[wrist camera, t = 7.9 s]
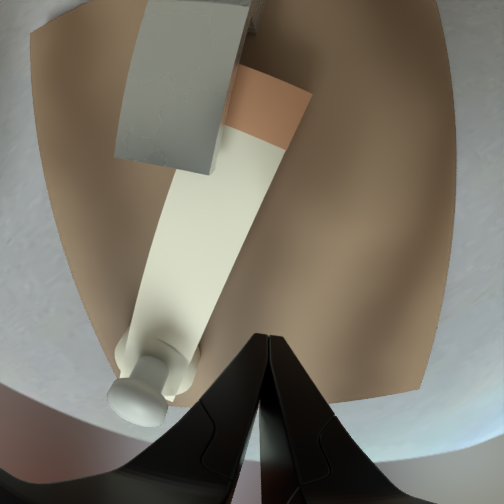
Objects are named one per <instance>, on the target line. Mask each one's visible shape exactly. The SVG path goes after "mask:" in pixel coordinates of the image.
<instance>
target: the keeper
mask: <svg viewBox="0 0 504 504" xmlns="http://www.w3.org/2000/svg"><path fill="white" fill-rule="evenodd" d="M265 2H266V0H148V3H147V6H146V9H145V12H144V16H143V19H142V22H141V26H140V29H139V33H138V36H137V40H136V44H135V48H134V51H133V55H132V60H131V64H130V68H129V72H128V77H127V82H126V86H125V91H124V96H123V102H122V107H121V113H120V118H119V125H118V131H117V138H116V145H115V152H114V158H119V159H125V160H131V161H136V162H142V163H148V164H153V165H159V166H164V167H169V168H174V169H179V170H184V171H189V172H194V173H199V174H204V175H208V176H209V175H210V174H212V173H213V172H214V171H215V166H216V161H217V157H218V152H219V147H220V142H221V138H222V133H223V129H224V124H225V120H226V115H227V111H228V107H229V102H230V98H231V94H232V90H233V86H234V82H235V78H236V74H237V70H238V66H239V62H240V58H241V54H242V50H243V46H244V42H245V39H246V35H247V34H250V35H257V31H258V27H259V24H260V20H261V17H262V13H263V9H264V6H265Z"/></svg>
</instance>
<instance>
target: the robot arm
mask: <svg viewBox="0 0 504 504" xmlns="http://www.w3.org/2000/svg"><path fill="white" fill-rule="evenodd" d="M258 405H259V430H260V465H261V503H262V504H436V503H433V502H429V501H425V500H422V499H419V498H415V497H413V496H410V495H408V494H406V493H404V492H403V491H401V490H400V489H398V488H397V487H396V486H395V485H394V484H393V483H392V482H391V481H390V480H389V479H388V478H387V477H386V476H385V475H384V474H383V473H382V472H381V471H380V469H379V468H378V467H377V466H376V465H375V464H374V463H373V462H372V461H371V460H370V459H369V457H368V456H367V455H366V454H365V453H364V452H363V451H362V450H361V448H360V447H359V446H358V445H357V444H356V442H355V441H354V440H353V439H352V438H351V436H350V435H349V433H348V432H347V431H346V429H345V428H344V427H343V425H342V424H341V422H340V421H339V419H338V418H337V416H335V414H334V412H333V411H332V409H331V408H330V406H329V405H328V403H327V402H326V400H325V399H324V397H323V396H322V394H321V393H320V391H319V390H318V388H317V387H316V385H315V384H314V382H313V381H312V379H311V378H310V376H309V375H308V373H307V372H306V370H305V369H304V367H303V366H302V364H301V363H300V361H299V360H298V358H297V357H296V355H295V353H294V352H293V350H292V349H291V347H290V346H289V344H288V343H287V341H286V340H285V338H284V337H283V336H277V335H269V337H268V335H267V334H262V333H254V334H253V335H252V336H251V337H250V339H249V340H248V341H247V342H246V344H245V345H244V346H243V347H242V348H241V350H240V351H239V352H238V353H237V355H236V356H235V357H234V358H233V359H232V361H231V362H230V363H229V364H228V365H227V367H226V368H225V369H224V370H223V371H222V373H221V374H220V375H219V376H218V377H217V379H216V380H215V381H214V382H213V383H212V385H211V386H210V387H209V388H208V389H207V390H206V392H205V393H204V394H203V395H202V396H201V397H200V399H199V400H198V401H197V402H196V403H195V404H194V405H193V406H192V408H191V409H190V410H189V411H188V412H187V413H186V414H185V415H184V416H183V417H182V418H181V419H180V420H179V421H178V422H177V423H176V424H175V425H174V426H173V427H172V428H170V429H169V430H168V431H167V432H166V433H165V434H164V435H162V436H161V437H160V438H159V439H157V440H156V441H155V442H154V443H152V444H151V445H150V446H148V447H147V448H146V449H145V450H143V451H142V452H141V453H140V454H138V455H137V456H136V457H134V458H133V459H132V460H130V461H129V462H128V463H126V464H124V465H123V466H121V467H119V468H117V469H115V470H112V471H109V472H106V473H102V474H97V475H92V476H87V477H82V478H77V479H71V480H65V481H58V482H51V483H31V482H27V481H23V480H20V479H18V478H16V477H14V476H12V475H11V474H9V473H8V472H6V471H5V470H3V469H2V468H0V504H231V501H232V498H233V495H234V492H235V488H236V485H237V482H238V478H239V475H240V471H241V468H242V464H243V461H244V457H245V454H246V450H247V447H248V443H249V440H250V436H251V432H252V429H253V425H254V421H255V418H256V414H257V410H258Z"/></svg>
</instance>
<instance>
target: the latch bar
mask: <svg viewBox="0 0 504 504" xmlns="http://www.w3.org/2000/svg"><path fill="white" fill-rule="evenodd" d="M312 95H313V94H311V93H309V92H307V91H305V90H303V89H300V88H298V87H296V86H294V85H291V84H289V83H287V82H284V81H282V80H280V79H277V78H275V77H272V76H270V75H267V74H265V73H262V72H260V71H257V70H254V69H252V68H249V67H246V66H244V65H241V64H239V66H238V70H237V74H236V78H235V82H234V86H233V90H232V94H231V98H230V102H229V107H228V111H227V115H226V120H225V124H224V129H223V133H222V138H221V142H220V147H219V152H218V157H217V161H216V166H215V171H214V172H213V173H212V174H210V175H209V176H208V175H204V174H199V173H194V172H189V171H184V170H179V169H176V172H175V174H174V177H173V180H172V183H171V186H170V189H169V192H168V195H167V198H166V201H165V204H164V207H163V210H162V213H161V216H160V219H159V222H158V225H157V229H156V232H155V235H154V239H153V242H152V245H151V249H150V252H149V256H148V259H147V263H146V266H145V270H144V274H143V277H142V281H141V285H140V289H139V293H138V296H137V300H136V304H135V309H134V313H133V317H132V321H131V324H130V325H129V327H128V328H127V330H126V331H125V333H124V334H123V336H122V338H121V339H120V341H119V342H118V344H117V346H116V348H115V360H116V363H117V366H118V368H119V369H120V371H121V373H120V378H119V379H117V380H115V381H114V382H113V384H112V386H111V388H110V389H109V391H108V393H107V401H108V403H109V405H110V407H111V408H112V409H113V410H114V411H115V412H116V413H117V414H118V415H119V416H121V417H122V418H124V419H126V420H127V421H129V422H132V423H134V424H137V425H140V426H146V427H154V426H158V425H160V424H162V423H163V421H164V419H165V416H166V413H167V410H168V403H167V401H166V400H169V401H171V402H173V400H174V398H175V396H176V395H178V394H181V393H184V392H185V391H187V390H188V389H189V388H190V387H191V385H192V383H193V380H194V377H195V374H196V370H197V367H198V364H199V360H200V350H199V347H198V343H199V341H200V339H201V336H202V334H203V332H204V330H205V327H206V325H207V323H208V321H209V318H210V316H211V314H212V312H213V309H214V307H215V305H216V303H217V300H218V298H219V296H220V294H221V292H222V289H223V287H224V285H225V283H226V280H227V278H228V276H229V274H230V271H231V269H232V267H233V265H234V263H235V260H236V258H237V256H238V254H239V252H240V249H241V247H242V245H243V243H244V240H245V238H246V236H247V234H248V232H249V229H250V227H251V225H252V223H253V221H254V218H255V216H256V214H257V212H258V210H259V208H260V205H261V203H262V201H263V199H264V197H265V194H266V192H267V190H268V188H269V186H270V184H271V181H272V179H273V177H274V175H275V173H276V171H277V168H278V166H279V164H280V162H281V160H282V158H283V155H284V153H285V151H287V148H288V146H289V144H290V142H291V140H292V138H293V136H294V133H295V131H296V129H297V127H298V125H299V123H300V121H301V118H302V116H303V114H304V112H305V110H306V108H307V106H308V103H309V101H310V99H311V97H312Z"/></svg>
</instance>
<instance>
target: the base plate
mask: <svg viewBox="0 0 504 504" xmlns="http://www.w3.org/2000/svg"><path fill="white" fill-rule="evenodd" d="M147 3H148V0H91V1H89V2H87V3H85V4H83V5H81V6H79V7H77V8H75V9H73V10H71V11H69V12H67V13H65V14H63V15H61V16H59V17H57V18H56V19H54V20H52V21H50V22H48V23H47V24H45V25H43V26H42V27H40V28H38V29H37V30H35V31H33V32H32V33H30V61H31V82H32V95H33V106H34V115H35V123H36V131H37V138H38V144H39V150H40V156H41V161H42V167H43V172H44V176H45V181H46V186H47V190H48V195H49V199H50V203H51V207H52V211H53V215H54V218H55V222H56V226H57V229H58V233H59V236H60V239H61V243H62V246H63V249H64V252H65V255H66V258H67V261H68V264H69V267H70V270H71V273H72V276H73V279H74V282H75V284H76V287H77V290H78V292H79V295H80V298H81V300H82V303H83V305H84V308H85V310H86V313H87V315H88V317H89V320H90V322H91V324H92V327H93V329H94V331H95V334H96V336H97V338H98V340H99V342H100V345H101V347H102V349H103V351H104V353H105V355H106V357H107V359H108V361H109V363H110V365H111V367H112V369H113V371H114V373H115V375H116V377H117V379H119V378H120V373H121V371H120V369H119V368H118V366H117V363H116V360H115V348H116V346H117V344H118V342H119V341H120V339H121V338H122V336H123V334H124V333H125V331H126V330H127V328H128V327H129V325H130V324H131V321H132V317H133V313H134V309H135V304H136V300H137V296H138V293H139V289H140V285H141V281H142V277H143V274H144V270H145V266H146V263H147V259H148V256H149V252H150V249H151V245H152V242H153V239H154V235H155V232H156V229H157V225H158V222H159V219H160V216H161V213H162V210H163V207H164V204H165V201H166V198H167V195H168V192H169V189H170V186H171V183H172V180H173V177H174V174H175V172H176V169H174V168H169V167H164V166H159V165H153V164H148V163H142V162H136V161H131V160H125V159H119V158H114V152H115V145H116V138H117V131H118V125H119V118H120V113H121V107H122V102H123V96H124V91H125V86H126V82H127V77H128V72H129V68H130V64H131V60H132V55H133V51H134V48H135V44H136V40H137V36H138V33H139V29H140V26H141V22H142V19H143V16H144V12H145V9H146V6H147ZM239 64H241V65H244V66H246V67H249V68H252V69H254V70H257V71H260V72H262V73H265V74H267V75H270V76H272V77H275V78H277V79H280V80H282V81H284V82H287V83H289V84H291V85H294V86H296V87H298V88H300V89H303V90H305V91H307V92H309V93H311V94H313V95H312V97H311V99H310V101H309V103H308V106H307V108H306V110H305V112H304V114H303V116H302V118H301V121H300V123H299V125H298V127H297V129H296V131H295V133H294V136H293V138H292V140H291V142H290V144H289V146H288V148H287V151H285V153H284V155H283V158H282V160H281V162H280V164H279V166H278V168H277V171H276V173H275V175H274V177H273V179H272V181H271V184H270V186H269V188H268V190H267V192H266V194H265V197H264V199H263V201H262V203H261V205H260V208H259V210H258V212H257V214H256V216H255V218H254V221H253V223H252V225H251V227H250V229H249V232H248V234H247V236H246V238H245V240H244V243H243V245H242V247H241V249H240V252H239V254H238V256H237V258H236V260H235V263H234V265H233V267H232V269H231V271H230V274H229V276H228V278H227V280H226V283H225V285H224V287H223V289H222V292H221V294H220V296H219V298H218V300H217V303H216V305H215V307H214V309H213V312H212V314H211V316H210V318H209V321H208V323H207V325H206V327H205V330H204V332H203V334H202V336H201V339H200V341H199V343H198V347H199V350H200V360H199V364H198V367H197V370H196V374H195V377H194V380H193V383H192V385H191V387H190V388H189V389H188V390H187V391H185V392H184V393H181V394H178V395H176V396H175V398H174V400H173V402H171V401H169V400H166V401H167V403H168V406H176V407H192V406H193V405H194V404H195V403H196V402H197V401H198V400H199V399H200V397H201V396H202V395H203V394H204V393H205V392H206V390H207V389H208V388H209V387H210V386H211V385H212V383H213V382H214V381H215V380H216V379H217V377H218V376H219V375H220V374H221V373H222V371H223V370H224V369H225V368H226V367H227V365H228V364H229V363H230V362H231V361H232V359H233V358H234V357H235V356H236V355H237V353H238V352H239V351H240V350H241V348H242V347H243V346H244V345H245V344H246V342H247V341H248V340H249V339H250V337H251V336H252V335H253V334H254V333H262V334H267V335H268V337H269V335H277V336H283V337H284V338H285V340H286V341H287V343H288V344H289V346H290V347H291V349H292V350H293V352H294V353H295V355H296V357H297V358H298V360H299V361H300V363H301V364H302V366H303V367H304V369H305V370H306V372H307V373H308V375H309V376H310V378H311V379H312V381H313V382H314V384H315V385H316V387H317V388H318V390H319V391H320V393H321V394H322V396H323V397H324V399H325V400H326V402H327V403H328V404H330V403H339V402H347V401H354V400H361V399H368V398H375V397H381V396H386V395H392V394H397V393H403V392H408V391H412V390H417V389H419V388H420V385H421V382H422V379H423V376H424V373H425V370H426V366H427V363H428V359H429V356H430V352H431V349H432V345H433V341H434V337H435V333H436V329H437V325H438V320H439V316H440V311H441V306H442V301H443V296H444V291H445V285H446V280H447V273H448V267H449V260H450V253H451V244H452V235H453V225H454V213H455V197H456V128H455V112H454V100H453V90H452V82H451V74H450V67H449V60H448V54H447V49H446V43H445V38H444V33H443V28H442V24H441V19H440V15H439V11H438V7H437V3H436V0H266V2H265V6H264V9H263V13H262V17H261V20H260V24H259V27H258V31H257V35H250V34H247V35H246V39H245V42H244V46H243V50H242V54H241V58H240V62H239ZM258 408H259V405H258Z"/></svg>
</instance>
